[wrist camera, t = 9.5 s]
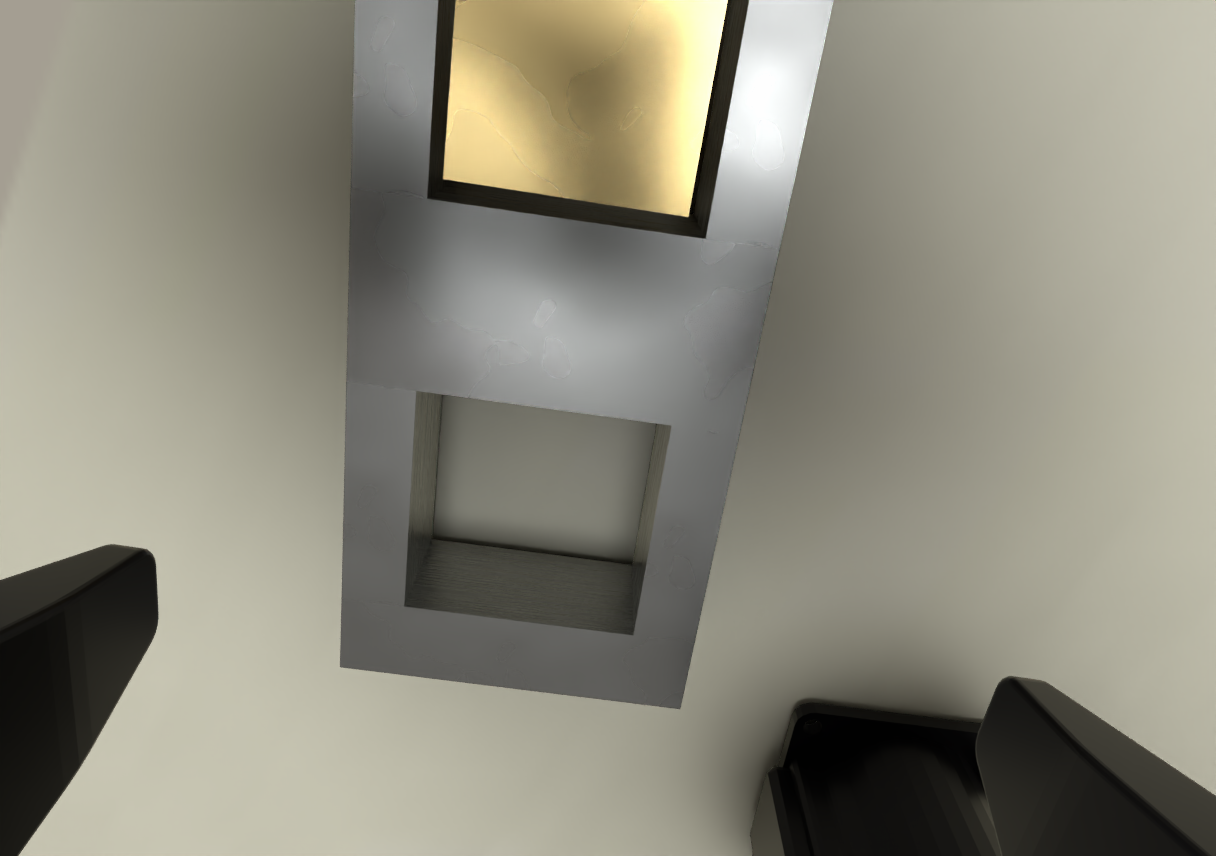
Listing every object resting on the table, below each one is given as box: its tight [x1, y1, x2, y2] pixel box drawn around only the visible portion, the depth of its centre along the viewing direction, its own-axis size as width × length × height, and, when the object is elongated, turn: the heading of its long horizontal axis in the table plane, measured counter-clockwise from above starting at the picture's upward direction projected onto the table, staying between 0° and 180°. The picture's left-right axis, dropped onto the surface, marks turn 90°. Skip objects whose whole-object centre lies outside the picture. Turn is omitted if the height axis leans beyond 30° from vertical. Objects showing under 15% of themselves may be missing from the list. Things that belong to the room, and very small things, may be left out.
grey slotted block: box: [340, 0, 834, 709], centre depth 18 cm, size 8×18×3 cm, turn 172°
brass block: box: [443, 0, 728, 217], centre depth 15 cm, size 4×4×5 cm
